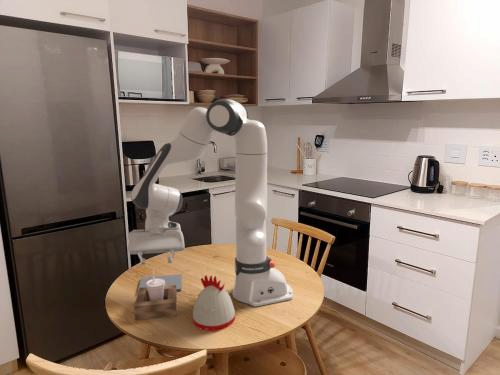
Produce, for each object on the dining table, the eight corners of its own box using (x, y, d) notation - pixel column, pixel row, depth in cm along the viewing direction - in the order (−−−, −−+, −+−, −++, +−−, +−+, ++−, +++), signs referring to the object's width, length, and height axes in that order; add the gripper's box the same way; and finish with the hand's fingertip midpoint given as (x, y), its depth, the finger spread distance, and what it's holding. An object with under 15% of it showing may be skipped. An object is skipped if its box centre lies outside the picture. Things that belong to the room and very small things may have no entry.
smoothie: (146, 305, 129) (144, 268, 126) (165, 302, 131) (163, 265, 129) (148, 314, 123) (146, 275, 120) (167, 310, 125) (165, 272, 123)
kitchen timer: (205, 304, 130) (204, 265, 127) (241, 312, 125) (240, 270, 122) (184, 325, 117) (182, 282, 114) (223, 334, 112) (222, 289, 109)
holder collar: (176, 297, 135) (176, 284, 134) (175, 316, 122) (175, 302, 121) (140, 300, 133) (139, 287, 132) (135, 320, 120) (134, 306, 119)
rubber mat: (181, 276, 152) (181, 274, 152) (181, 291, 139) (180, 288, 139) (141, 279, 149) (141, 277, 149) (137, 294, 137) (137, 292, 136)
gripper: (127, 226, 135) (124, 261, 127) (183, 223, 138) (184, 257, 130) (130, 234, 140) (127, 268, 132) (184, 231, 143) (185, 264, 136)
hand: (156, 263), depth 131 cm, fingers open, 8 cm apart
